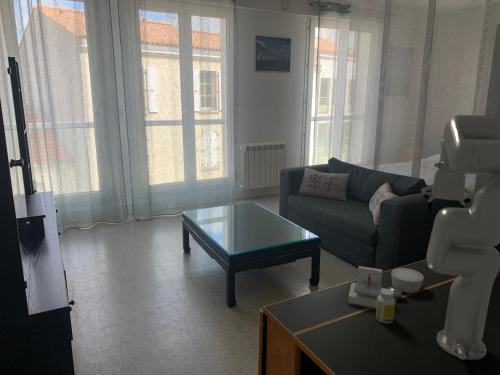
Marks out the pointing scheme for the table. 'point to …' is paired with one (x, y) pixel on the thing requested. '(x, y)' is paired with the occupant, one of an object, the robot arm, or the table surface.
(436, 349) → the table surface
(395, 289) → the shiny gray ball
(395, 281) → the ramekin
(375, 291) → the pan
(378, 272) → the scale housing
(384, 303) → the supplement bottle
